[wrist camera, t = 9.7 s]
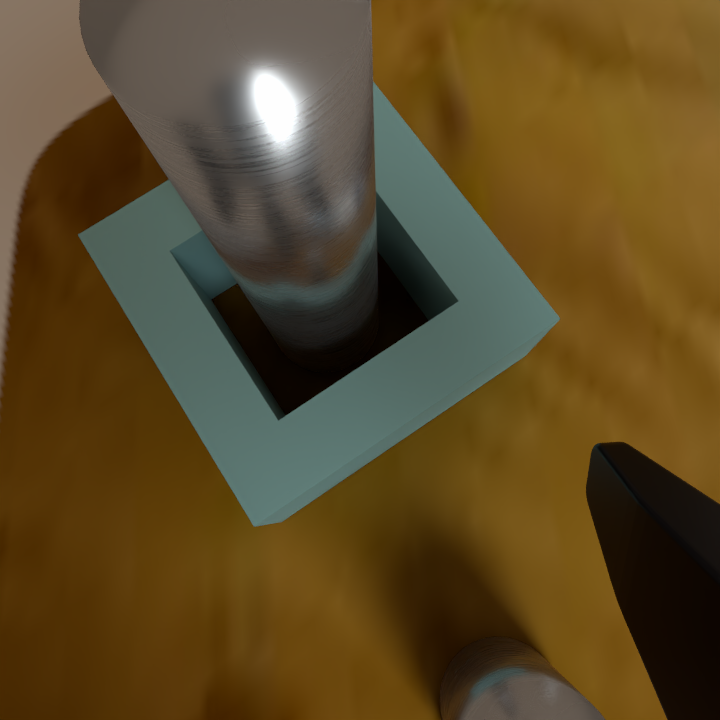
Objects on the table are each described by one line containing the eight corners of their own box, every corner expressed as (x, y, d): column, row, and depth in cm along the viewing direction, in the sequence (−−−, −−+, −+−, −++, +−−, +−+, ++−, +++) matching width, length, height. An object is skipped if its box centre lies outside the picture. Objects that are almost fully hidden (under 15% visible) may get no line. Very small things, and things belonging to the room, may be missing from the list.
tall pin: (336, 393, 19) (247, 181, 7) (251, 332, 20) (19, 28, 7) (399, 308, 20) (429, -37, 7) (315, 251, 20) (204, -163, 8)
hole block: (281, 522, 18) (254, 526, 15) (136, 286, 20) (77, 234, 16) (524, 356, 19) (560, 319, 15) (364, 144, 21) (359, 64, 17)
